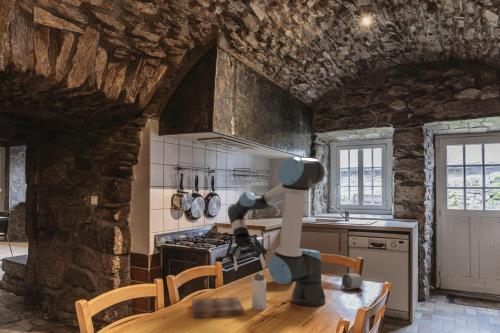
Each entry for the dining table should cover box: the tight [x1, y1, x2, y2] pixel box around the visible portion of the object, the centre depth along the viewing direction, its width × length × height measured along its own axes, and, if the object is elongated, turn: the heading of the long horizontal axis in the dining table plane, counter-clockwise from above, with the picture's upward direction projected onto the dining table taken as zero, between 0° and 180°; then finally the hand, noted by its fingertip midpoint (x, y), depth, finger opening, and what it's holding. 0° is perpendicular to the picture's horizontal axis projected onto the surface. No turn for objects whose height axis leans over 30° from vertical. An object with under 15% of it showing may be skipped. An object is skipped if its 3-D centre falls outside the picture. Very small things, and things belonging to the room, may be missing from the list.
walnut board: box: [191, 296, 245, 319], centre depth 149 cm, size 20×16×2 cm
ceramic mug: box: [341, 273, 363, 291], centre depth 184 cm, size 11×8×8 cm
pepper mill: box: [251, 272, 267, 311], centre depth 153 cm, size 6×6×15 cm
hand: (250, 268), depth 162 cm, fingers open, 13 cm apart
